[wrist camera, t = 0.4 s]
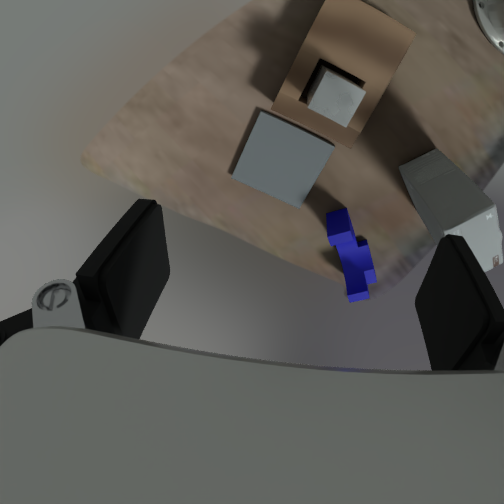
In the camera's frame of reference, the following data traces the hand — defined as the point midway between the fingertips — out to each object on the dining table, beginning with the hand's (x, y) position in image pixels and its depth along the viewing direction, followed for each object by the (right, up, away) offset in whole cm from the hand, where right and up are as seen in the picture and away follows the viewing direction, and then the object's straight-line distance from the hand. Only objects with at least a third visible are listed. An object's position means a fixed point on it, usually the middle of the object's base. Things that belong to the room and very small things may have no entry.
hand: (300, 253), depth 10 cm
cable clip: (+13, +2, +37) cm, 39 cm away
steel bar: (+8, +20, +24) cm, 32 cm away
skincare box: (+22, +10, +28) cm, 37 cm away
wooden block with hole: (+9, +22, +22) cm, 32 cm away
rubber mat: (+2, +12, +30) cm, 33 cm away
